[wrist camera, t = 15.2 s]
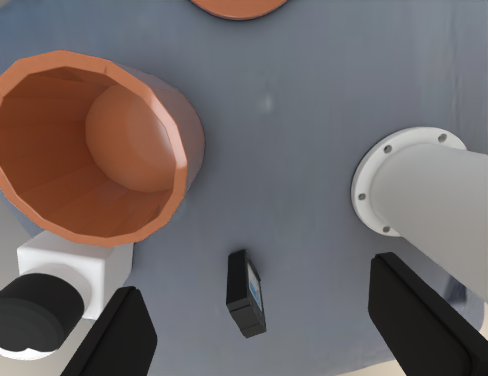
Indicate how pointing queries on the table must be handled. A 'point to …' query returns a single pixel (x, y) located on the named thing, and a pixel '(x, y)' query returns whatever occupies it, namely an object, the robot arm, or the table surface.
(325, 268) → the table surface
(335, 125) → the table surface
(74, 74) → the terracotta pot
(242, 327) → the ink cartridge
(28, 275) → the medicine bottle
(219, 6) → the lid
